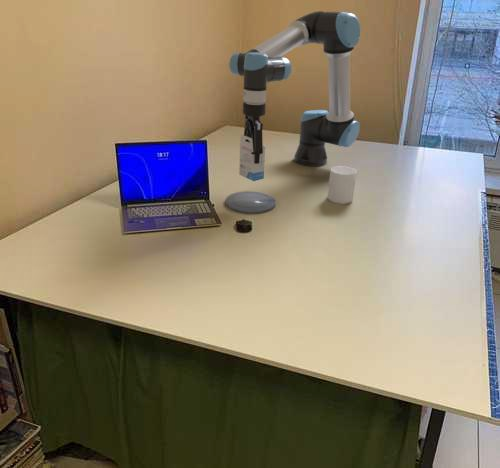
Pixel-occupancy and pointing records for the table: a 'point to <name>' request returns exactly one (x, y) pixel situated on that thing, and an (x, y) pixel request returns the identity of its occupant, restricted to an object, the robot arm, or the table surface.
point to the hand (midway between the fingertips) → (251, 167)
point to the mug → (341, 184)
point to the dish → (250, 202)
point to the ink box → (249, 160)
